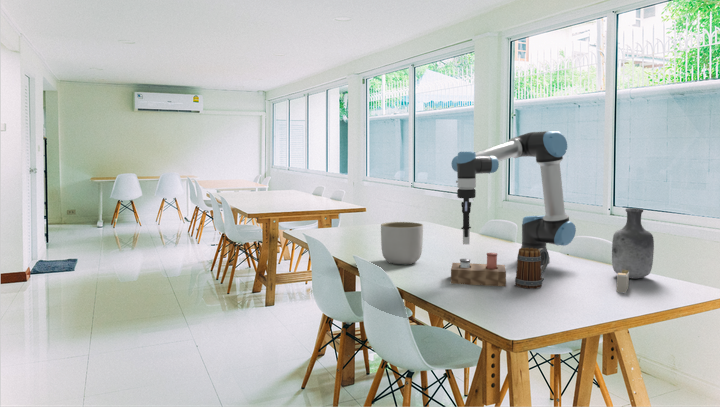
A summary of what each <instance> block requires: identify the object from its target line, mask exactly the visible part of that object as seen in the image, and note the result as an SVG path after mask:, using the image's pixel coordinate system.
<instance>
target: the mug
mask: <svg viewBox="0 0 720 407" xmlns="http://www.w3.org/2000/svg"><path fill="white" fill-rule="evenodd" d="M542 251H543V252H544V263H543V264H541V255H540V254H541V252H542ZM516 258H517V261H516V262H517V263H516V272H515V273H516V274H515V278H514V284H515V285H516V287H518V288H522V289H529V290H530V289H531V290H535V289H540V288H541V287H542V285H543V282H544V281H545V277H543V274H544V272H545V271H546V269H547V267H548V266H549V263H548V260H549V258H550V253H549V250H548V249H547V250H546V249H543V248H540V249H534V248H530V249H529V248H521V247H520V248H519V249H518V253H517V257H516ZM541 265H542V266H541Z"/></svg>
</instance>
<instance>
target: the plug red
mask: <svg viewBox="0 0 720 407" xmlns="http://www.w3.org/2000/svg"><path fill="white" fill-rule="evenodd" d="M497 259H498V253H497V252H487V253H486V264H487V269H497V265H498V262H497V261H498V260H497Z"/></svg>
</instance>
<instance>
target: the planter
mask: <svg viewBox="0 0 720 407" xmlns="http://www.w3.org/2000/svg"><path fill="white" fill-rule="evenodd" d="M423 242H424V224H422V223H419V222H411V221H410V222H409V221H391V222H385V223H384V222H383V223H381V224H380V245H381V254H382V258H384V259H385V260H386V261H387V262H388V263H389V264H392V263H393V264H392V265H397V264H408V265H411V264H412V263H413V264H415V263H417V261H418V260H420V258H421V257H422V254H423ZM413 264H412V265H413Z"/></svg>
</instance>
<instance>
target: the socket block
mask: <svg viewBox="0 0 720 407" xmlns="http://www.w3.org/2000/svg"><path fill="white" fill-rule="evenodd" d="M450 284H453V285H466V286H467V285H471V286H486V287H487V286H491V287H506V286H507V270H506V266H505V264H497V269H487V263H473V262H470V268H460V262H452V264H451V268H450Z"/></svg>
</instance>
